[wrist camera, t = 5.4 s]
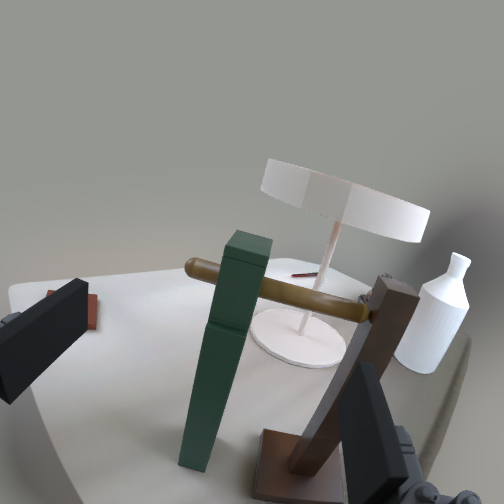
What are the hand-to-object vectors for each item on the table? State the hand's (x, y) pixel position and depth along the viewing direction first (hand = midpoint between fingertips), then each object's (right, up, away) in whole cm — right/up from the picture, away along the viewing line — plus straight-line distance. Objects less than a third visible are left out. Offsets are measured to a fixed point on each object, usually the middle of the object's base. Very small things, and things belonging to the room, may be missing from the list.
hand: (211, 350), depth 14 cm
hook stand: (+2, -20, +17) cm, 26 cm away
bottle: (+38, -20, +48) cm, 64 cm away
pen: (+19, -3, +84) cm, 86 cm away
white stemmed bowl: (+11, -13, +48) cm, 51 cm away
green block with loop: (-4, -18, +17) cm, 25 cm away
